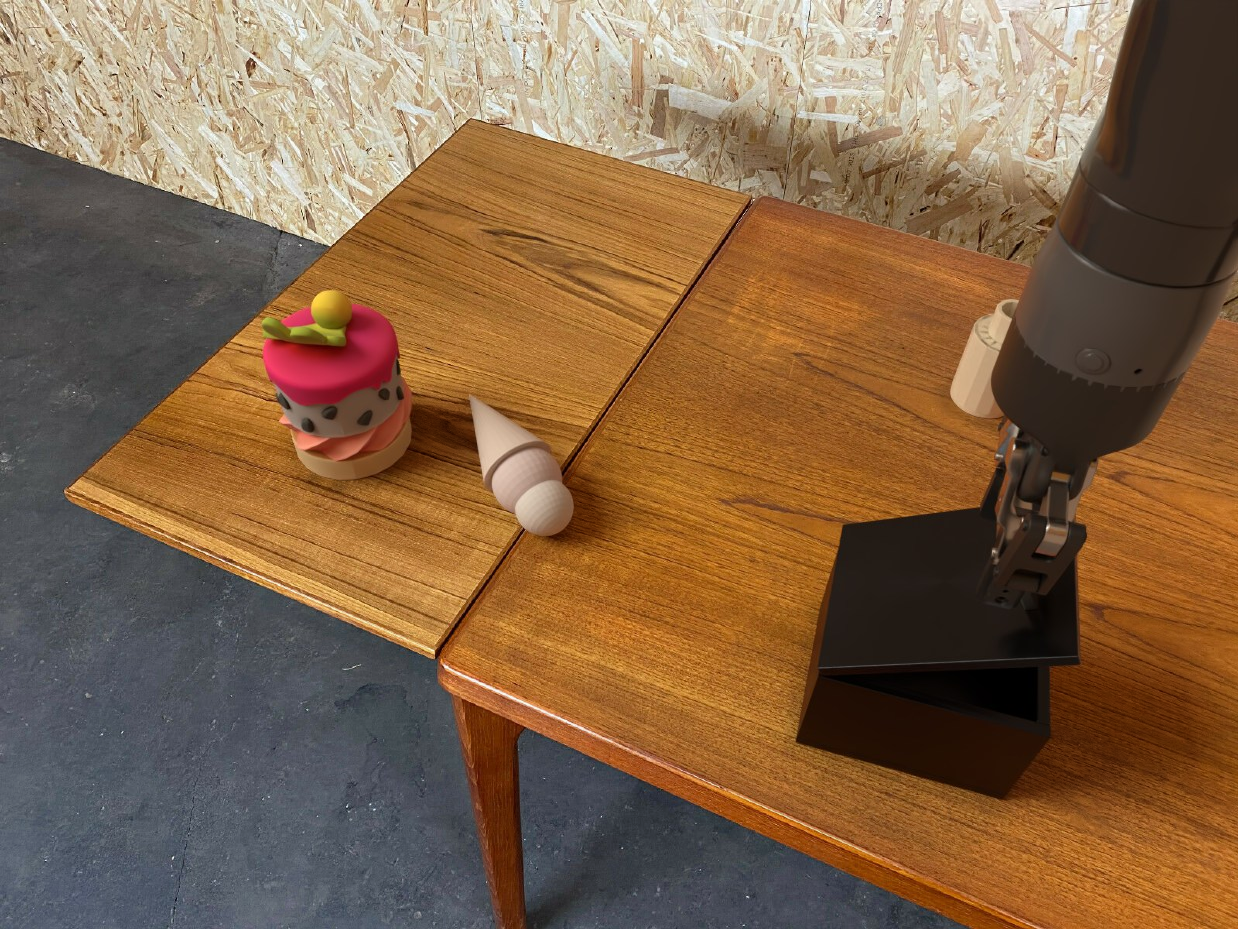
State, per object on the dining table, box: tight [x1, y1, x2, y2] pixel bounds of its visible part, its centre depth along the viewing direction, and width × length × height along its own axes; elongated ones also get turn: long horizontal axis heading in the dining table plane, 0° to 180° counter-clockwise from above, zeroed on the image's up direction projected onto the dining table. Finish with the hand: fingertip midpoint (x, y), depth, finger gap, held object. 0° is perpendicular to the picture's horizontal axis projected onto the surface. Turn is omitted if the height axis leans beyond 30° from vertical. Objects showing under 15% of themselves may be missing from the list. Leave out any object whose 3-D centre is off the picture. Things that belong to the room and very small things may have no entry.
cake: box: [261, 289, 413, 481], centre depth 77 cm, size 10×11×15 cm
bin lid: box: [817, 488, 1082, 676], centre depth 56 cm, size 14×12×6 cm
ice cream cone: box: [468, 393, 575, 537], centre depth 77 cm, size 6×6×15 cm
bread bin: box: [795, 550, 1052, 800], centre depth 64 cm, size 14×12×9 cm
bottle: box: [949, 298, 1019, 419], centre depth 84 cm, size 6×6×10 cm
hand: (996, 556), depth 54 cm, fingers closed on bin lid, 5 cm apart
